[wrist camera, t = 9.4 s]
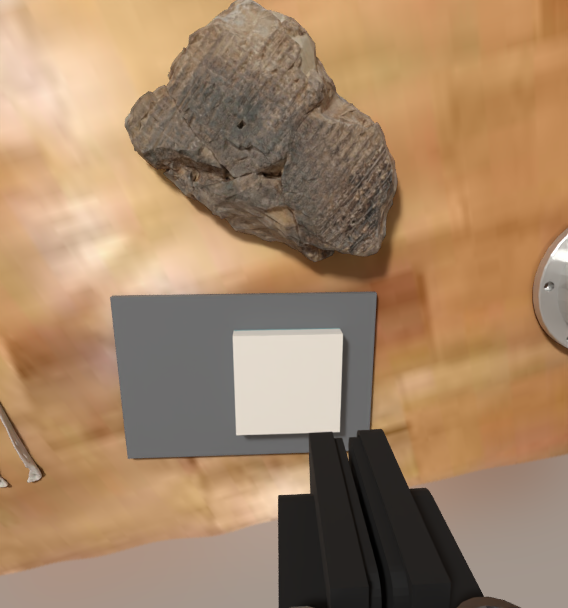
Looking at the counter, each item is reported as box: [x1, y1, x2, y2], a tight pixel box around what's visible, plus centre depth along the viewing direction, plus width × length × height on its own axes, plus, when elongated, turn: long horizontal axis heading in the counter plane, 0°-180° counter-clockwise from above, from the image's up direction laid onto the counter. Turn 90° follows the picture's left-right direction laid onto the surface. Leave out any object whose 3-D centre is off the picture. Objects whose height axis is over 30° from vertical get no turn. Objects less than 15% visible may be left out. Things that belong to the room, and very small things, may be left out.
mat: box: [110, 292, 377, 459], centre depth 38 cm, size 22×15×1 cm
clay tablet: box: [125, 0, 398, 262], centre depth 31 cm, size 14×5×20 cm
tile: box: [233, 328, 343, 435], centre depth 37 cm, size 2×9×9 cm
